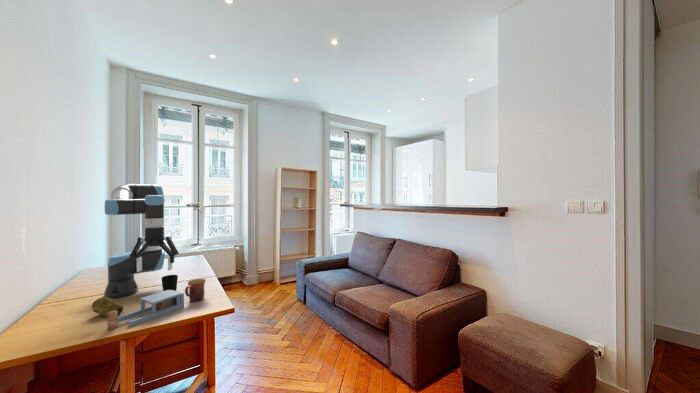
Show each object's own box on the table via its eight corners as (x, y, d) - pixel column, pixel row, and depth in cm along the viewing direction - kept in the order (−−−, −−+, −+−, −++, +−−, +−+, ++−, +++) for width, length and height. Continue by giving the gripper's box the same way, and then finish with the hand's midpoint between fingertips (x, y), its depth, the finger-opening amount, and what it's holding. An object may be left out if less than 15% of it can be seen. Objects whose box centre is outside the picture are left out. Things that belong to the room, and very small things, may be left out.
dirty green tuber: (104, 321, 123) (104, 303, 123) (88, 316, 128) (88, 299, 127) (125, 313, 131) (125, 297, 131) (109, 309, 135) (109, 293, 135)
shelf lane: (117, 321, 123) (117, 305, 123) (171, 302, 144) (171, 288, 144) (130, 326, 118) (130, 309, 118) (184, 306, 139) (183, 292, 139)
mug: (196, 295, 153) (196, 278, 153) (209, 297, 152) (209, 279, 151) (178, 304, 142) (178, 285, 141) (192, 305, 140) (192, 286, 140)
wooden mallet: (105, 328, 116) (105, 312, 116) (166, 306, 139) (166, 293, 139) (111, 331, 114) (110, 314, 114) (172, 308, 136) (172, 294, 136)
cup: (180, 296, 152) (180, 275, 152) (166, 301, 145) (166, 279, 145) (172, 294, 155) (172, 274, 155) (158, 299, 148) (158, 277, 148)
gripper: (120, 228, 124) (120, 273, 124) (178, 227, 128) (178, 271, 128) (131, 226, 131) (131, 269, 131) (185, 225, 135) (186, 267, 135)
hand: (154, 270), depth 129 cm, fingers open, 13 cm apart
